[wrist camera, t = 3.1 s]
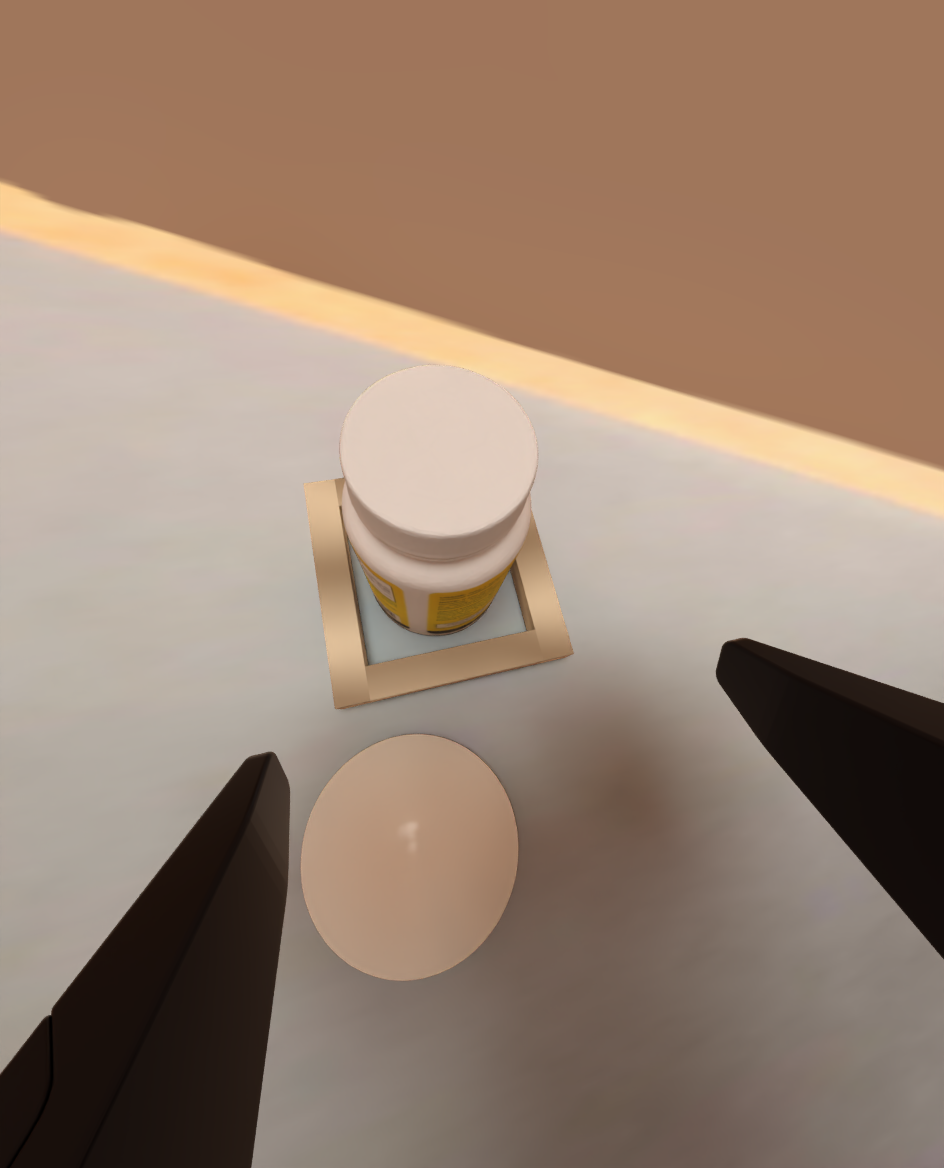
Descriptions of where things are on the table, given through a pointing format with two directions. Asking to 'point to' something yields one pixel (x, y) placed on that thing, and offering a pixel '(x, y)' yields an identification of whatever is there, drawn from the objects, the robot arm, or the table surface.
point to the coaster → (409, 857)
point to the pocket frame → (435, 668)
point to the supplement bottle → (436, 492)
